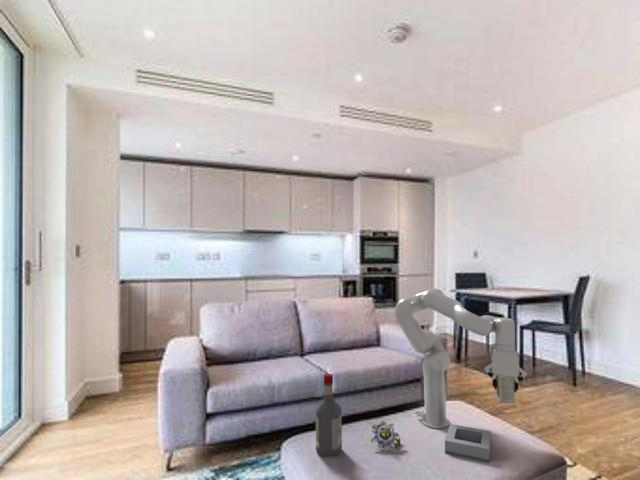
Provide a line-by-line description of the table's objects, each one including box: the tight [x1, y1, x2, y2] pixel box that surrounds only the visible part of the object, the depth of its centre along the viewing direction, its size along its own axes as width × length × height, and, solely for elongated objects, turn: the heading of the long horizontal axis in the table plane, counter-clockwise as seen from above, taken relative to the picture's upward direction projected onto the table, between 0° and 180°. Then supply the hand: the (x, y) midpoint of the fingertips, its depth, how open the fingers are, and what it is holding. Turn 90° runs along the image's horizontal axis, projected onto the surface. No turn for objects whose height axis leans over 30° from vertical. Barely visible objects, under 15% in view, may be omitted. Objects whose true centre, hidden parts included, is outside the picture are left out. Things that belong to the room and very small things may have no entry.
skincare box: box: [495, 374, 516, 404], centre depth 162 cm, size 6×4×12 cm
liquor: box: [315, 373, 343, 458], centre depth 154 cm, size 9×9×30 cm
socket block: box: [444, 423, 492, 464], centre depth 155 cm, size 16×16×5 cm
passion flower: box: [370, 419, 402, 452], centre depth 158 cm, size 11×11×12 cm
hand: (505, 389), depth 162 cm, fingers closed on skincare box, 7 cm apart
